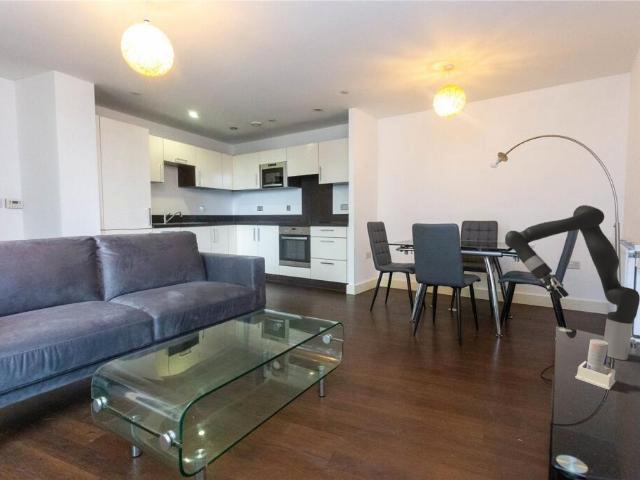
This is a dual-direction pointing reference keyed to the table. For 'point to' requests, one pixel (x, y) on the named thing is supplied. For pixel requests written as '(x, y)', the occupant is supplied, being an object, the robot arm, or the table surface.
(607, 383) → the can holder
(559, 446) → the table surface
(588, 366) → the beverage can
